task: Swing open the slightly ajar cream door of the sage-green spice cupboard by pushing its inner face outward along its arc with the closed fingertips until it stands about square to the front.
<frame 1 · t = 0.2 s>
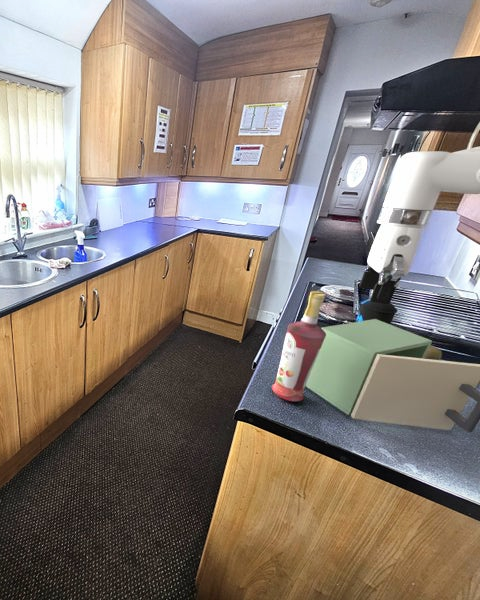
hand: (372, 295, 73), 27 cm above the worktop, tool pointing down, fingers open, 9 cm apart
aerosol can: (360, 352, 102), on the worktop
cork: (412, 382, 89), on the worktop
cupboard: (351, 392, 84), on the worktop
door: (423, 401, 68), point 8 cm above the worktop, hinge at 28.0°
liquor: (286, 396, 82), on the worktop
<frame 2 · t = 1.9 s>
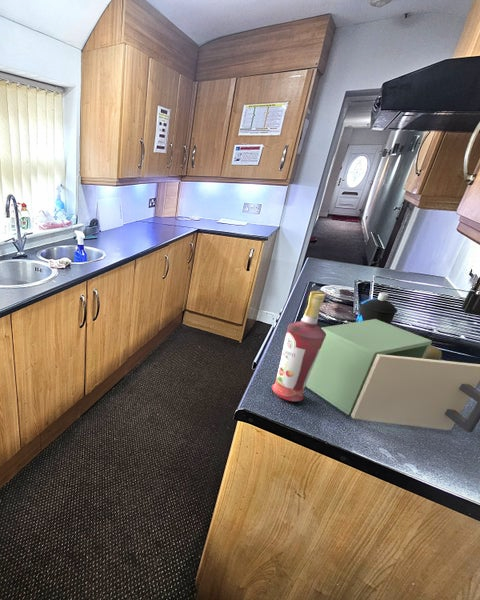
hand: (473, 312, 65), 27 cm above the worktop, tool pointing down, fingers closed
nothing on the worktop moved.
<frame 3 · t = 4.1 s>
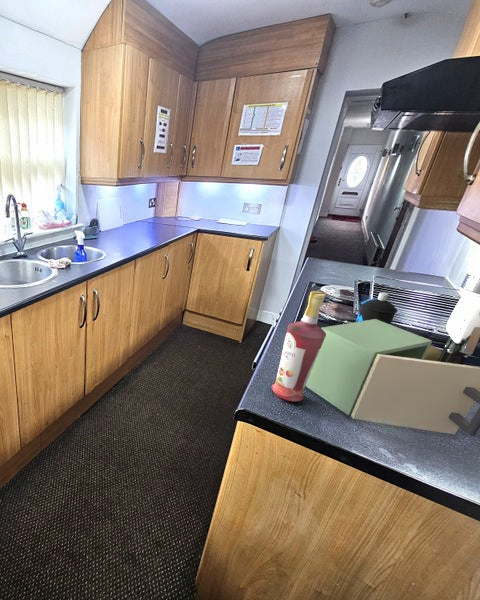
hand: (446, 368, 69), 14 cm above the worktop, tool pointing down, fingers closed
door: (424, 402, 67), point 8 cm above the worktop, hinge at 31.7°
everything else where it was.
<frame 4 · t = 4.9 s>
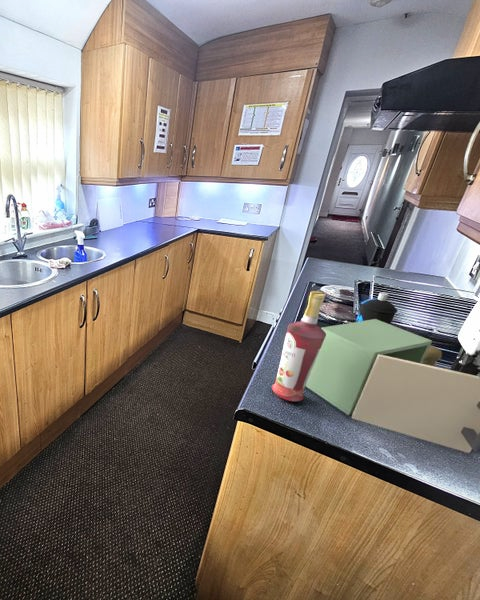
hand: (457, 380, 66), 14 cm above the worktop, tool pointing down, fingers closed
door: (426, 410, 65), point 8 cm above the worktop, hinge at 47.6°, touching gripper
everything else where it was.
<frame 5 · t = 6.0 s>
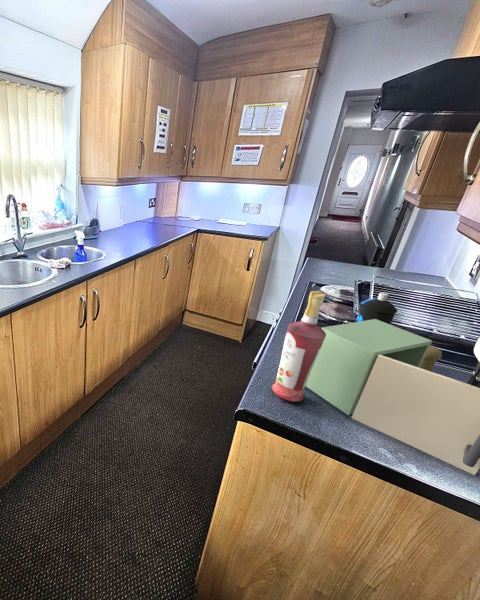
hand: (474, 398, 61), 14 cm above the worktop, tool pointing down, fingers closed
door: (421, 416, 64), point 8 cm above the worktop, hinge at 68.7°, touching gripper
everything else where it was.
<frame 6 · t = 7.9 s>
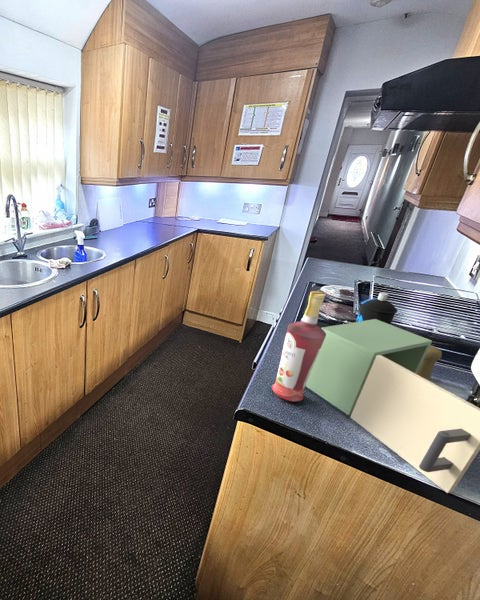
hand: (473, 419, 56), 13 cm above the worktop, tool pointing down, fingers closed
door: (399, 419, 63), point 8 cm above the worktop, hinge at 98.5°, touching gripper
everything else where it was.
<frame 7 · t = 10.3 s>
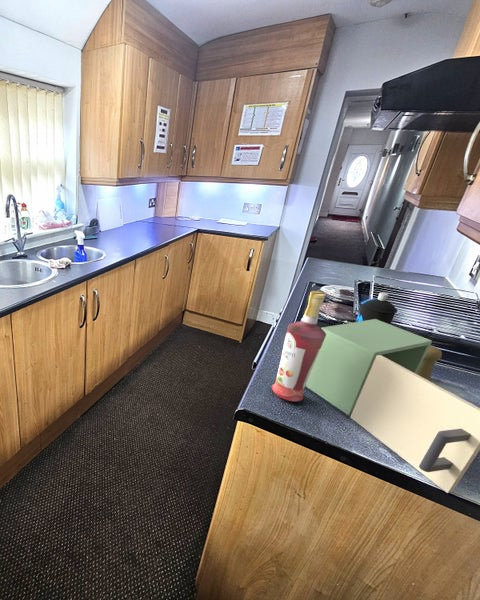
door: (399, 419, 63), point 8 cm above the worktop, hinge at 98.5°
everything else where it was.
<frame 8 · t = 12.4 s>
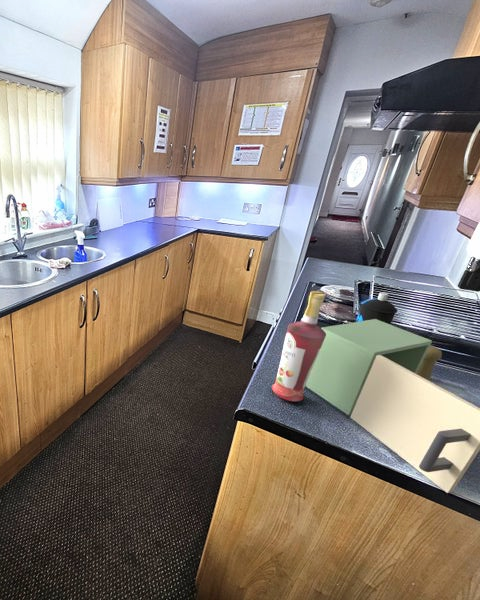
hand: (468, 289, 72), 29 cm above the worktop, tool pointing down, fingers closed
nothing on the worktop moved.
at the end: door at +98° (first picture: +28°) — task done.
